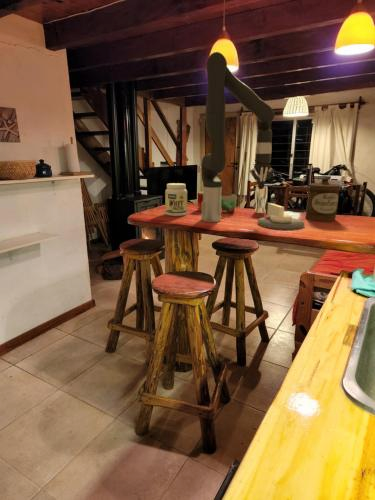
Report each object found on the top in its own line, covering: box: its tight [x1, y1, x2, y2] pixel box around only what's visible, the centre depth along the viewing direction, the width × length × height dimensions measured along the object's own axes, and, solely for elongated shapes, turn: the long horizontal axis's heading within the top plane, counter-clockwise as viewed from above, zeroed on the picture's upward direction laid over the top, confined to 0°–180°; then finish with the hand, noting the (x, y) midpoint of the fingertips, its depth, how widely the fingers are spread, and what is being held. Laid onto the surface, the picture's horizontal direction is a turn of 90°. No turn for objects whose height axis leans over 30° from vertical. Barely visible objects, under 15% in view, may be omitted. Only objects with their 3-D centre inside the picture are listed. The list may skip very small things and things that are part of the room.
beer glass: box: [254, 185, 268, 214], centre depth 184 cm, size 7×7×15 cm
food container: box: [221, 193, 238, 214], centre depth 184 cm, size 12×6×10 cm, turn 143°
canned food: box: [197, 190, 203, 212], centre depth 190 cm, size 8×8×11 cm
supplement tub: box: [164, 182, 188, 217], centre depth 177 cm, size 12×12×17 cm
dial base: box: [257, 216, 305, 231], centre depth 156 cm, size 22×22×2 cm
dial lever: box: [265, 202, 293, 223], centre depth 158 cm, size 18×10×7 cm, turn 15°
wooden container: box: [305, 176, 341, 223], centre depth 167 cm, size 15×15×22 cm
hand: (260, 188), depth 159 cm, fingers closed
